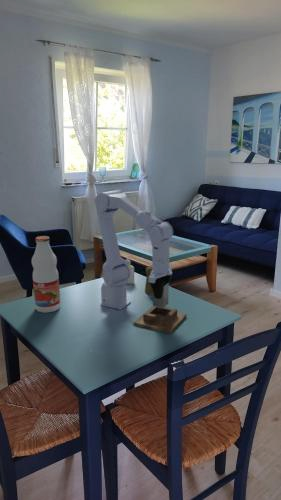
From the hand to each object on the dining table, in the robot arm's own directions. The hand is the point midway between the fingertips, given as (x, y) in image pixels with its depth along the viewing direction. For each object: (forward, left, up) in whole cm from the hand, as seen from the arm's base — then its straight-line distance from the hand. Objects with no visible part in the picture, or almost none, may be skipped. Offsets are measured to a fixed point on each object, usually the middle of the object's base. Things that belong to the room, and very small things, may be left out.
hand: (160, 295), depth 132 cm
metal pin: (0, 0, -3) cm, 3 cm away
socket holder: (0, 0, -10) cm, 10 cm away
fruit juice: (-43, -10, -10) cm, 45 cm away
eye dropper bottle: (-29, +27, -10) cm, 41 cm away
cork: (-15, +23, -10) cm, 29 cm away
